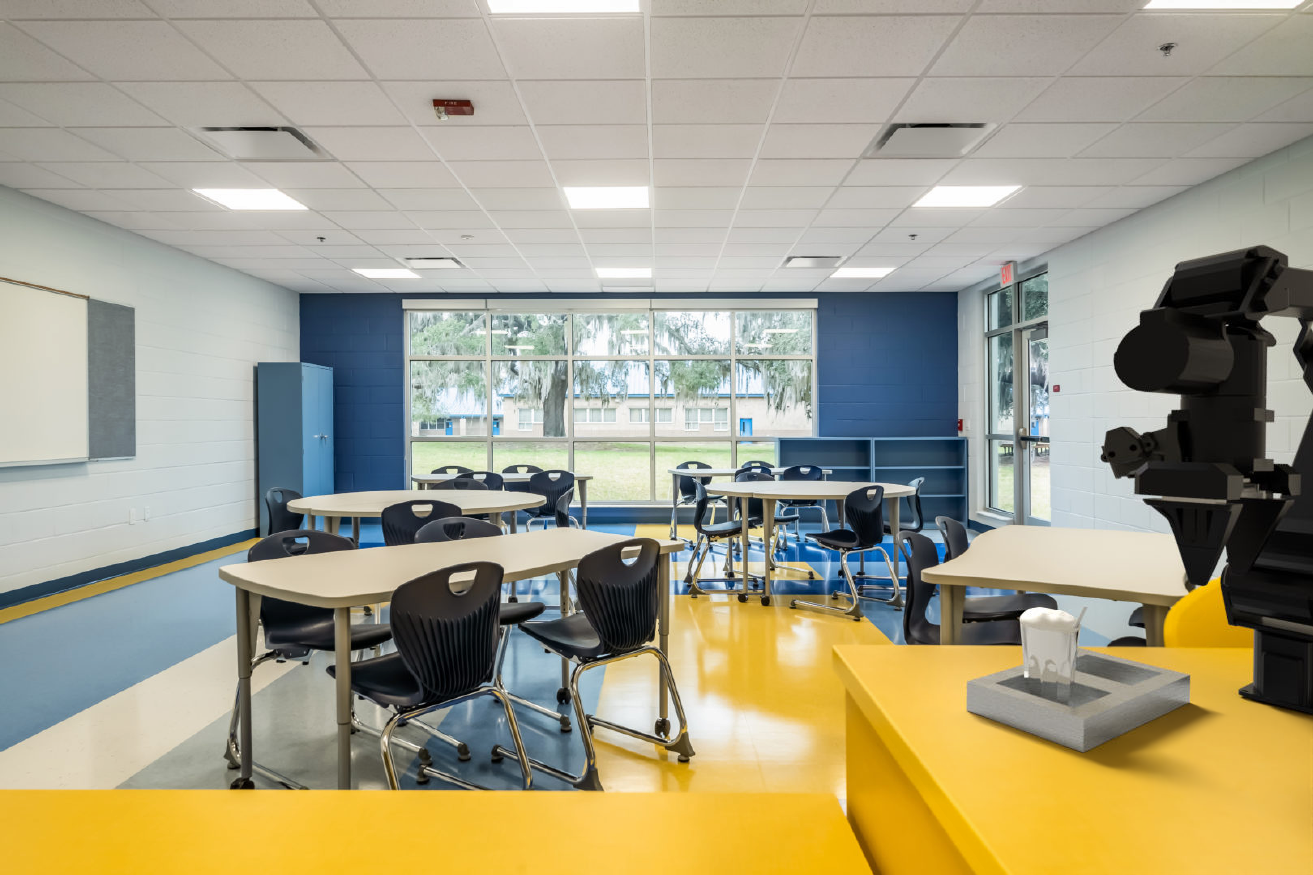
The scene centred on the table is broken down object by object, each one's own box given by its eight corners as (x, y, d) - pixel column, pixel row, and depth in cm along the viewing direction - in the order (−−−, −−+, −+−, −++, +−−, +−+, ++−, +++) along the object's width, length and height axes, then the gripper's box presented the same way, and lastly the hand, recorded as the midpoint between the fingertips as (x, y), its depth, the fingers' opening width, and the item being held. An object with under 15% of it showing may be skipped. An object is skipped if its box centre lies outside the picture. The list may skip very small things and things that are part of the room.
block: (1079, 672, 71) (1079, 647, 71) (1189, 702, 63) (1190, 674, 63) (966, 710, 60) (967, 681, 60) (1083, 752, 52) (1083, 719, 52)
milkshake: (1066, 733, 55) (1067, 609, 55) (1006, 710, 60) (1008, 595, 60) (1101, 725, 57) (1103, 604, 57) (1040, 702, 62) (1042, 591, 62)
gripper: (1159, 406, 71) (1156, 557, 71) (1069, 396, 60) (1066, 573, 60) (1303, 402, 62) (1301, 576, 61) (1226, 389, 51) (1223, 598, 51)
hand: (1219, 580), depth 59 cm, fingers open, 9 cm apart
